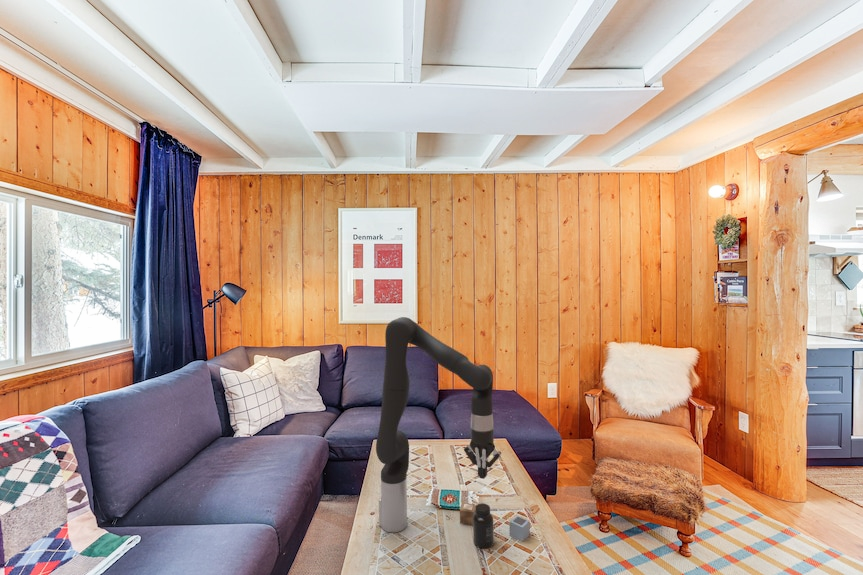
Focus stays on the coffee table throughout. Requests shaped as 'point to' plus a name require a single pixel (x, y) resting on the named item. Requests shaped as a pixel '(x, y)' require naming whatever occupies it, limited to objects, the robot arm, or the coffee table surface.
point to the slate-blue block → (519, 528)
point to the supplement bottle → (483, 526)
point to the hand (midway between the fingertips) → (482, 477)
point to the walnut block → (467, 513)
